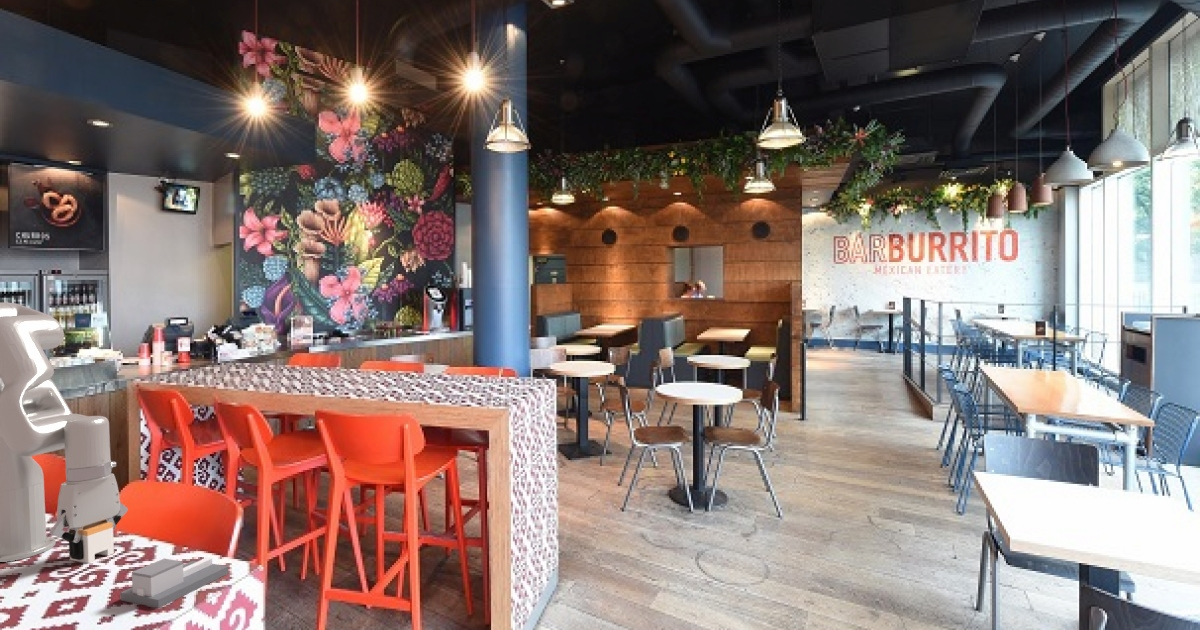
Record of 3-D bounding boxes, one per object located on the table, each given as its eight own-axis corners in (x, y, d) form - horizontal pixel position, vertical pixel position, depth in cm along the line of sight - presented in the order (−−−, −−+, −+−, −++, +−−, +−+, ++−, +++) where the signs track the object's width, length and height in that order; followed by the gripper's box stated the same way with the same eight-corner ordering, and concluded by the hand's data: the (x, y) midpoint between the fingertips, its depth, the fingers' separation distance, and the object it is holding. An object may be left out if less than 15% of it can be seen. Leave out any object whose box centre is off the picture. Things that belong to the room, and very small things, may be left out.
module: (88, 563, 126) (87, 531, 126) (70, 559, 128) (68, 528, 128) (113, 553, 131) (112, 522, 131) (95, 550, 133) (94, 520, 133)
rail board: (120, 600, 109) (119, 571, 109) (193, 567, 123) (192, 541, 123) (158, 607, 106) (157, 578, 106) (228, 573, 120) (227, 547, 120)
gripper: (119, 461, 138) (122, 536, 139) (30, 482, 122) (34, 568, 122) (141, 463, 136) (144, 539, 136) (54, 485, 120) (57, 572, 120)
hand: (92, 552), depth 129 cm, fingers closed on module, 5 cm apart
